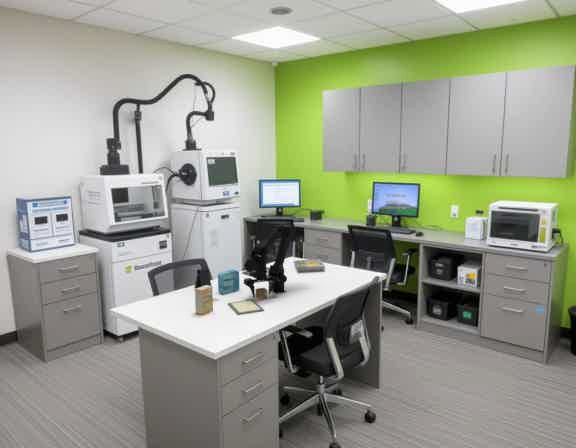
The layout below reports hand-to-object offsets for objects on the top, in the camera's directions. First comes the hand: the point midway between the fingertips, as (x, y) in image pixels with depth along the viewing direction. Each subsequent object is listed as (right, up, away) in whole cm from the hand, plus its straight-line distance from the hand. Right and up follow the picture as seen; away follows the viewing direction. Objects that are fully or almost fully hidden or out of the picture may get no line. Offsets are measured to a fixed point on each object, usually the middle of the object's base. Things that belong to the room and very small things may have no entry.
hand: (261, 295), depth 251 cm
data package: (-20, 0, +12) cm, 23 cm away
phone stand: (-36, +1, +19) cm, 41 cm away
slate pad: (-8, -4, -15) cm, 17 cm away
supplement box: (-28, -5, -21) cm, 35 cm away
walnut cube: (0, -2, 0) cm, 2 cm away
